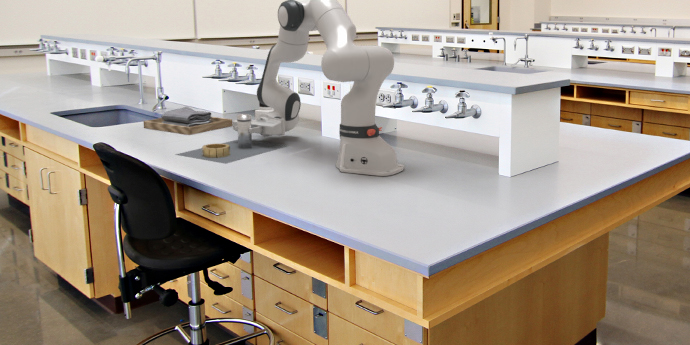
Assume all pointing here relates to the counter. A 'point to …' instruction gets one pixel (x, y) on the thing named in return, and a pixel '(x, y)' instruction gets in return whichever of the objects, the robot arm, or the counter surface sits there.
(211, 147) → the brass ring collar
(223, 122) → the towel frame
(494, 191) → the counter surface
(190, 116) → the towel
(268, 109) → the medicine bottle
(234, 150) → the bench mat
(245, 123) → the clear lidded jar
